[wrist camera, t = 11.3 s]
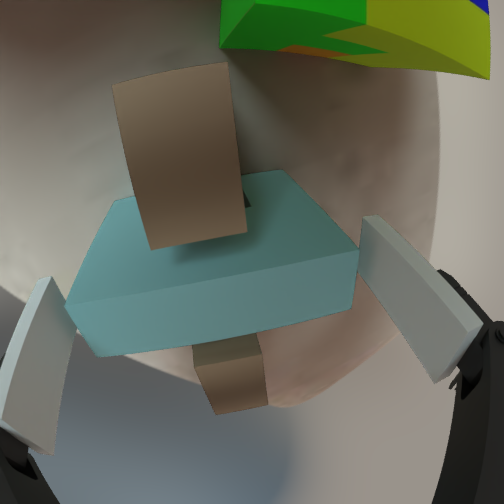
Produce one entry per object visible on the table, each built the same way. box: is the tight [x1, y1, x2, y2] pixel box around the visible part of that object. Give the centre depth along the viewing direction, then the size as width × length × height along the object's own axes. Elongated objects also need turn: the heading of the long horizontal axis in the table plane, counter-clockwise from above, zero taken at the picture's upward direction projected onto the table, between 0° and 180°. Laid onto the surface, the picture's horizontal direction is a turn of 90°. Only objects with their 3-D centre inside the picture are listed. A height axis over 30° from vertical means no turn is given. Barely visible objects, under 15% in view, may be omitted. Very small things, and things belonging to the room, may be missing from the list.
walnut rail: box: [112, 62, 268, 415], centre depth 15 cm, size 16×3×10 cm, turn 5°
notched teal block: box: [64, 169, 360, 357], centre depth 15 cm, size 11×3×10 cm, turn 95°
